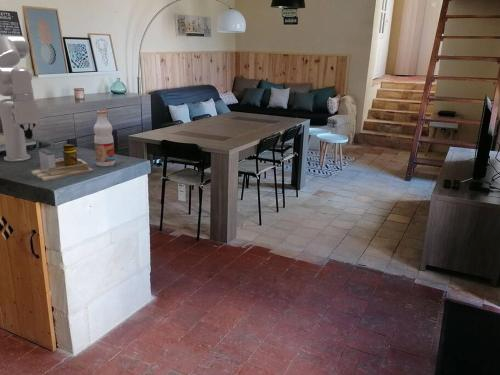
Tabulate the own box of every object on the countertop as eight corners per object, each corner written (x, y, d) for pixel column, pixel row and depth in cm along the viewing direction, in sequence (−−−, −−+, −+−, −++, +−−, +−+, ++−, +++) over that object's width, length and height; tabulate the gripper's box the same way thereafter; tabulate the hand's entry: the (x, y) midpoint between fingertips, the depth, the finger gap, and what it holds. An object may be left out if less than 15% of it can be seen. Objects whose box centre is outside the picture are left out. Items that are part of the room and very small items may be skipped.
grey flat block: (41, 170, 208) (38, 149, 205) (47, 169, 210) (45, 148, 207) (49, 175, 201) (47, 153, 198) (56, 174, 203) (54, 152, 200)
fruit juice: (98, 162, 231) (94, 109, 222) (116, 162, 232) (113, 109, 223) (94, 166, 222) (89, 112, 213) (112, 167, 223) (109, 112, 214)
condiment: (80, 169, 212) (78, 145, 208) (61, 171, 208) (59, 147, 204) (76, 165, 218) (74, 142, 214) (58, 167, 213) (56, 144, 210)
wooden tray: (30, 173, 208) (29, 164, 206) (79, 165, 224) (78, 157, 223) (43, 180, 197) (42, 172, 196) (93, 171, 213) (93, 163, 212)
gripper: (8, 99, 182) (14, 142, 188) (44, 97, 192) (49, 137, 198) (2, 97, 187) (8, 139, 193) (38, 95, 197) (42, 135, 203)
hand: (28, 138), depth 195 cm, fingers closed
